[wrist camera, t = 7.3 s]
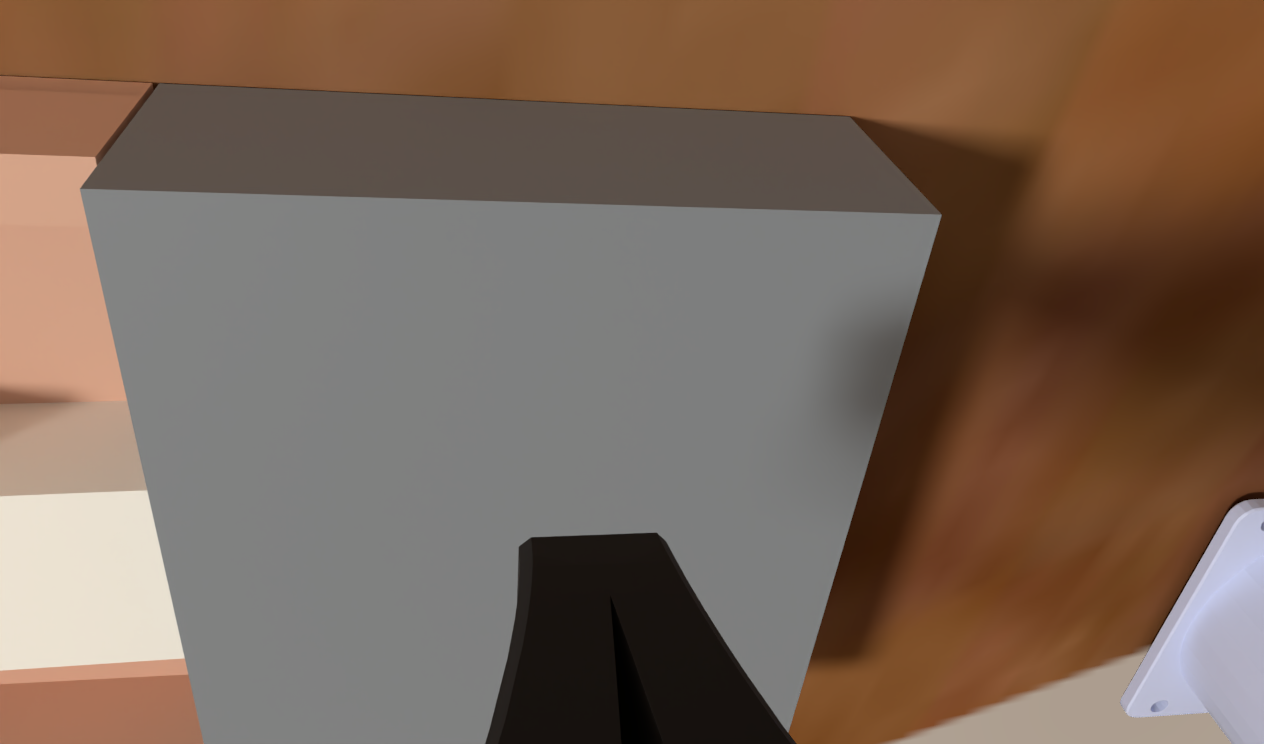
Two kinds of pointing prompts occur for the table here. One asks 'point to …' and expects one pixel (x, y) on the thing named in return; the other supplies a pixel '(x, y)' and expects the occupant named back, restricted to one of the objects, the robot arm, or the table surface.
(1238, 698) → the robot arm
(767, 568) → the grey rectangular block
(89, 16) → the table surface
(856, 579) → the table surface
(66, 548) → the tile
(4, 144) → the box
